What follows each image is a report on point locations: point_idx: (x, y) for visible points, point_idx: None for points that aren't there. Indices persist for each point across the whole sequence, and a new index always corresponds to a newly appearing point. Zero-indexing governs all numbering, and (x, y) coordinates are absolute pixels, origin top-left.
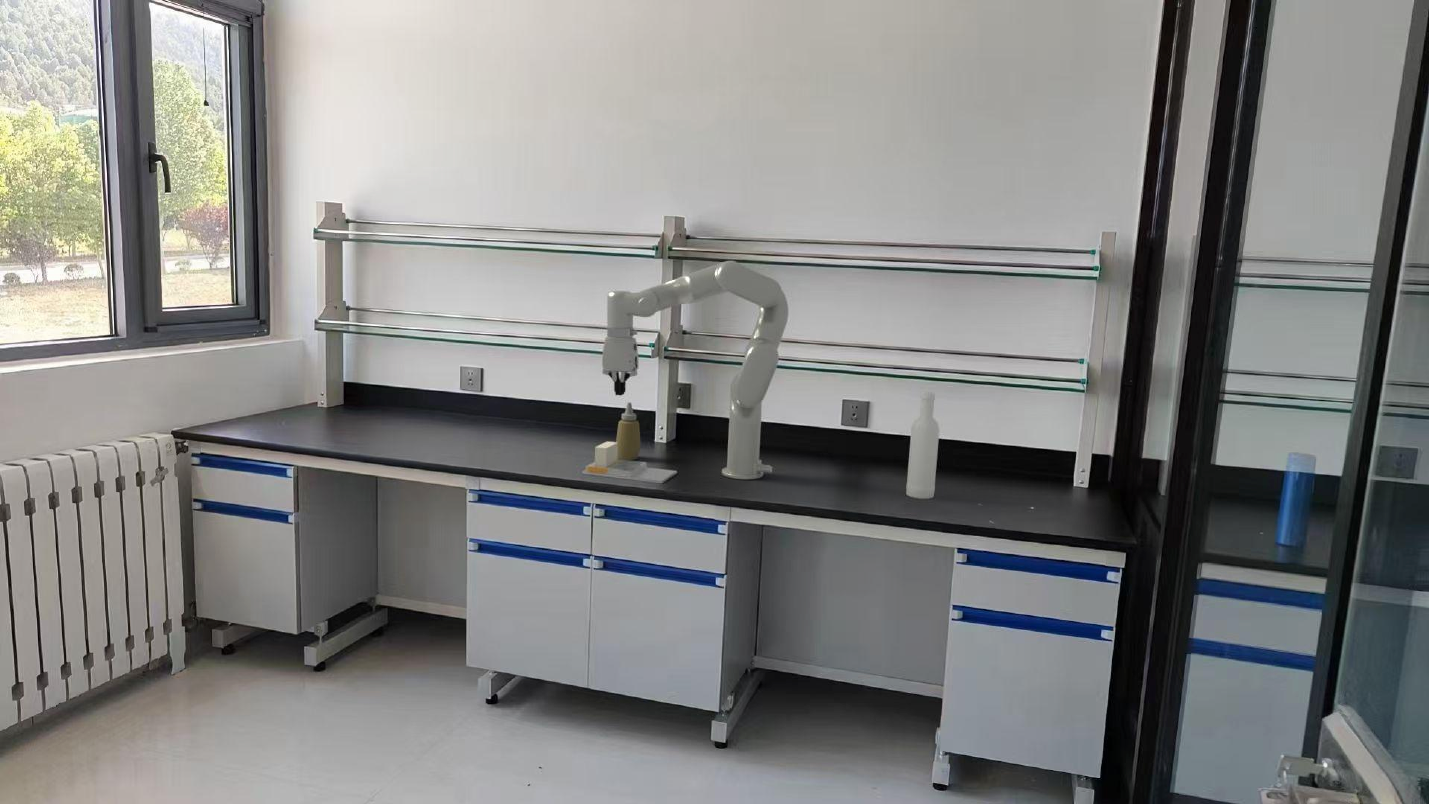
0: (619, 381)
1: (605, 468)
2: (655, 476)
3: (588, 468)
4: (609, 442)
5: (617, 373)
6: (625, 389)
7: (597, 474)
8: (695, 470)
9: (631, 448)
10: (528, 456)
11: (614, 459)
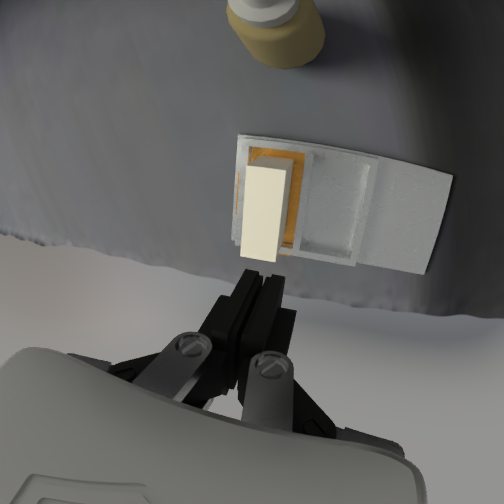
0: (227, 359)
1: (287, 254)
2: (409, 242)
3: None
4: (259, 178)
5: (171, 397)
6: (295, 316)
7: None
8: (484, 132)
9: (305, 61)
10: (83, 134)
11: (289, 183)
